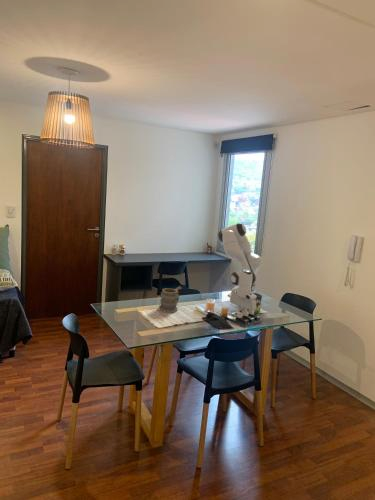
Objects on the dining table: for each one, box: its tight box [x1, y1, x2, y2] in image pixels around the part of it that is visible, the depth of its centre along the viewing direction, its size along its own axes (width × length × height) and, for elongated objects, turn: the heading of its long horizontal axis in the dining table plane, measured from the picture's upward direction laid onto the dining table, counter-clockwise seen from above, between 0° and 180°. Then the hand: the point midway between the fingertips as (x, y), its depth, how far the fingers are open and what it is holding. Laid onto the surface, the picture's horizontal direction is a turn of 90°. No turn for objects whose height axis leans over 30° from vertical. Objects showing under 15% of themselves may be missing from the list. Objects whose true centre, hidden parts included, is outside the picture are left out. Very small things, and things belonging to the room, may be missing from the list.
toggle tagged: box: [243, 309, 249, 316], centre depth 250 cm, size 3×2×3 cm
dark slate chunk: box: [202, 311, 234, 330], centre depth 242 cm, size 15×22×5 cm
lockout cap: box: [220, 306, 229, 318], centre depth 255 cm, size 4×4×6 cm
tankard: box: [158, 285, 182, 314], centre depth 260 cm, size 20×13×15 cm, turn 143°
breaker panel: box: [224, 311, 263, 328], centre depth 251 cm, size 17×20×4 cm
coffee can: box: [245, 292, 263, 316], centre depth 268 cm, size 10×10×14 cm
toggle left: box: [236, 311, 243, 318], centre depth 245 cm, size 3×2×3 cm
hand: (241, 312), depth 252 cm, fingers closed
